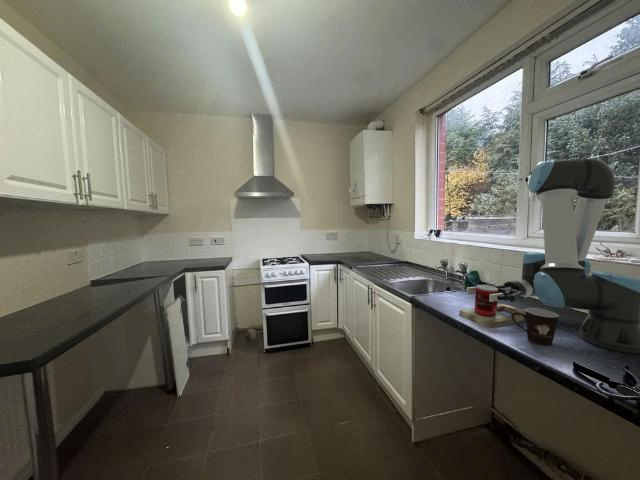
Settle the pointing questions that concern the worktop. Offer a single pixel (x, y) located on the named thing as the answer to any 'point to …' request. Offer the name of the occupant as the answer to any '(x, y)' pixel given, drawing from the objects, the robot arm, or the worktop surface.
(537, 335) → the coffee mug
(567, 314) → the worktop surface
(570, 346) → the worktop surface
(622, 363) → the worktop surface
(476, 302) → the canned food
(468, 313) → the board
